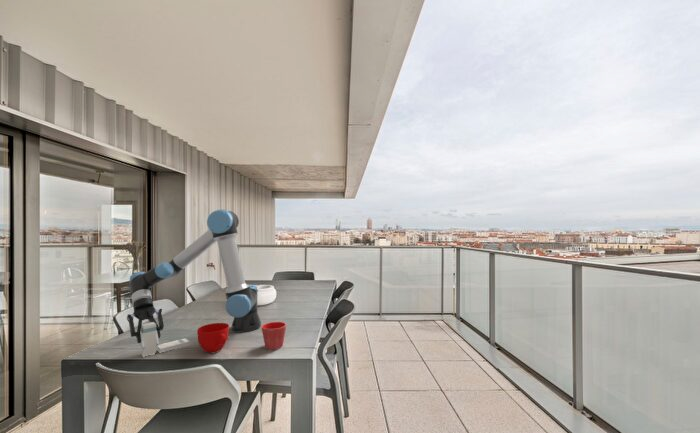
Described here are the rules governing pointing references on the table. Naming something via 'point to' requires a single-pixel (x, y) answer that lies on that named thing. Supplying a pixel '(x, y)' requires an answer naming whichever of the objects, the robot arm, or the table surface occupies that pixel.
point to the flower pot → (273, 335)
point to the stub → (149, 338)
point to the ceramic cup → (213, 336)
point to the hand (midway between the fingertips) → (150, 346)
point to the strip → (173, 345)
